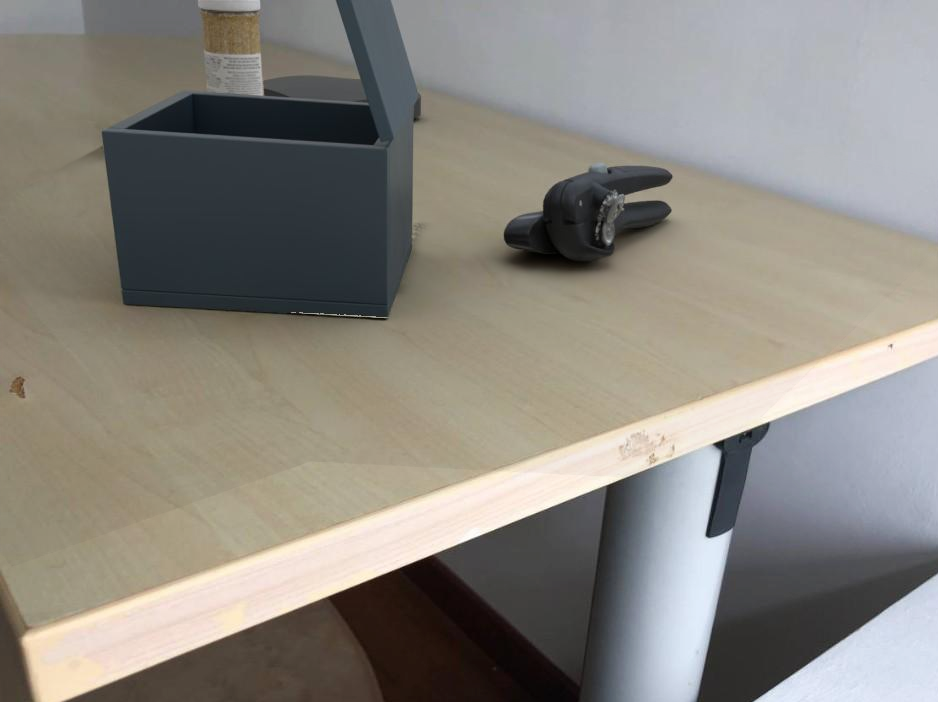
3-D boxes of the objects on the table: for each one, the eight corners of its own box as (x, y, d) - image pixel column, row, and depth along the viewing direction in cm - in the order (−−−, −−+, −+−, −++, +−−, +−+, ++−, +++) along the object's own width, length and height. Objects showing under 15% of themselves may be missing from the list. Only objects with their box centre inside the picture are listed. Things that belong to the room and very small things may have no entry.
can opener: (584, 284, 58) (593, 190, 56) (488, 258, 62) (493, 168, 59) (706, 226, 72) (718, 148, 70) (623, 207, 75) (631, 132, 73)
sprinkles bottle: (265, 152, 83) (255, -19, 78) (271, 165, 80) (262, -15, 74) (208, 153, 82) (194, -22, 76) (212, 165, 78) (197, -18, 72)
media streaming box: (353, 97, 111) (353, 69, 110) (436, 120, 102) (437, 90, 101) (236, 106, 101) (234, 76, 100) (315, 132, 92) (314, 99, 91)
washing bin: (122, 304, 51) (100, 130, 47) (195, 234, 62) (182, 90, 58) (387, 319, 51) (387, 149, 47) (412, 247, 62) (413, 105, 59)
